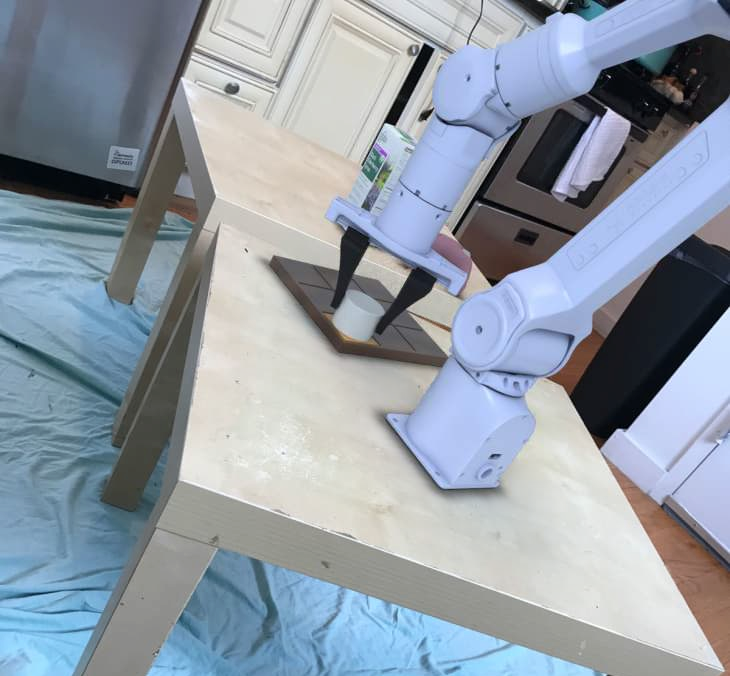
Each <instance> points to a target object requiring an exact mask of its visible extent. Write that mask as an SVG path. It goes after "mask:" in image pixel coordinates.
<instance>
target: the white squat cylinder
mask: <svg viewBox="0 0 730 676" xmlns="http://www.w3.org/2000/svg"><path fill="white" fill-rule="evenodd" d="M384 315H385V311H384V309H383V307H382V306H381V305H380V304H379V303H378V302H377V301H375V300H374V299H373V298H371V297H370V296H368V295H366V294H364V293H362V292H359V291H356V290H347V291H346V292H345V294H344V295H343V297H342V299H341V301H340V303H339V305H338V307H337V309H336V311H335V312H334V314H333V316H332V319H331V320H332V323H333V325H334V326H335V327H336V328H337V329H338V330H339V331H340V332H342V333H343V334H344V335H346V336H348V337H350V338H352V339H354V340H357V341H361V342H368V341H369V340H370V339H371V337H372V336H373V334H374V332H375V330H376V329H377V327H378V325H379V323H380V322H381V320H382V318H383V317H384Z"/></svg>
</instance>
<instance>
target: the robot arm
mask: <svg viewBox="0 0 730 676" xmlns="http://www.w3.org/2000/svg"><path fill="white" fill-rule="evenodd" d="M705 35H713V36H715V37H719V38H722V39H724V40H726V41H730V0H624V1H623V2H621V3H619V4H618V5H615V6H613V7H612V8H610V9H608V10H607V11H605V12H603V13H601V14H599V15H598V16H596V17H594V18H592V19H591V20H586V19H585V18H583V17H582V16H580V15H578V14H576V13H572V12H568V13H565V14H564V13H562V12H561V11H557V12H555V13H553V14H550V15H549V16H547V17H546V18H545V23H544V24H542V25H540V26H539V27H536V28H534V29H532V30H530V31H528V32H526V33H523V34H522V35H520V36H518V37H516V38H514V39H511V40H510V41H507V40H505V41H502V42H501V43H499V44H497V45H496V47H495V48H492V47H488V48H486V49H485V48H484V49H482V48H480V47H478V45H477V46H476V45H474V44H465V45H461V46H460V48H459V49H458V50H456V51H454V52H452V53H451V54H450V55H449V56H448V57H447V58H446V60H444V61H443V63H442V65H440V68H439V70H438V71H437V74H436V76H435V79H434V81H433V85H432V90H431V91H432V93H431V99H432V100H431V101H432V107H433V109H434V111H433V113H432V114H431V116H430V118H429V120H428V121H427V124H426V126H425V128H424V130H423V131H422V134H421V135H420V137H419V139H418V140H417V141H418V143H417V145H416V147H415V149H414V150H413V152H412V154H411V156H410V158H409V160H408V162H407V164H406V166H405V167H404V169H403V171H402V173H401V175H400V177H399V179H398V181H397V183H396V185H395V187H394V188H393V190H392V192H391V194H390V196H389V198H388V200H387V202H386V204H385V205H384V207H383V209H382V211H381V213H380V215H379V216H376V215H374V214H372V213H370V212H368V211H366V210H364V209H362V208H360V207H358V206H356V205H354V204H352V203H350V202H348V201H347V200H346V198H343V197H341V196H340V195H336V196H335V197H334V198H333V199H332V201H331V202H330V204H329V206H328V209H327V211H326V213H325V214H324V218H325V219H326V220H328V221H330V222H331V223H334V224H335V223H337V224H338V225H340V226H341V225H342V226H344V227H345V228H347V230H346V231H345V232H344V233H343V235H342V237H341V238H340V245H339V267H338V270H339V275H338V281H337V286H336V290H335V294H334V297H333V300H332V302H331V305H330V306H331V307H333V308H334V309H337V307H338V305H339V303H340V301H341V299H342V297H343V295H344V294H345V292H346V290H347V288H348V286H349V283H350V281H351V279H352V277H353V274H355V272H356V270H357V269H358V266H359V265H360V263H361V261H362V259H363V257H364V256H365V254H366V252H367V250H368V248H369V247H370V243H372V244H374V245H375V246H374V247H376V246H377V247H376V248H379V249H380V250H382V251H384V253H387V254H388V255H390V256H392V257H393V258H395V259H397V260H399V261H400V262H401V263H403V264H404V263H405V264H407V265H409V266H410V268H411V271H410V272H409V274H408V276H407V278H406V279H405V281H404V283H403V285H402V286H401V287H400V290H399V292H398V294H397V295H396V297H395V300H394V301H393V303H392V304H391V306H390V307H389V309H388V310H387V311H386V313H385V315H384V317H383V318H382V320H381V322H380V323H379V325H378V327H377V329H376V331H375V333H377V334H379V335H381V334H382V333H383V332H384V330H385V329H386V328H387V327H388V326H389V324H390V323H391V322H392V321H393V320H394V319H395V318H396V317H398V316H399V315H400V314H401V313H402V312H403V311H405V310H406V311H407V309H409V308H410V307H411V306H413V305H414V304H416V303H418V302H419V301H420V300H422V299H423V298H425V297H427V296H428V295H429V294H431V292H432V290H433V289H434V286H435V284H439V285H440V286H442V287H444V288H445V289H446V291H447V292H448V293H450V294H451V295H453V296H454V297H456V296H458V295H457V294H458V292H459V291H460V289H461V287H462V286H463V284H464V283H465V281H466V279H467V273H465V272H463V271H462V270H460V269H459V268H457V267H456V266H454V265H453V264H452V263H450V262H449V261H447V260H446V259H445V258H443V257H442V256H441V255H439V254H438V253H437V252H435V251H434V250H433V249H431V247H432V245H433V243H434V241H435V240H436V238H437V236H438V235H439V233H441V231H442V230H443V228H444V226H445V224H446V222H448V221H447V220H448V219H449V217H450V216H451V214H452V212H453V210H454V209H455V207H456V205H457V204H458V202H459V201H460V199H461V197H462V196H463V193H464V191H465V190H466V188H467V186H468V185H469V183H470V181H471V179H472V178H473V176H474V174H475V173H476V171H477V169H478V168H479V166H480V164H481V163H482V162H484V161H485V159H487V160H488V159H489V157H490V156H491V155H492V152H493V150H494V149H495V148H496V147H497V146H498V145H499V144H500V143H502V142H504V141H506V140H508V139H509V138H510V137H511V136H512V135H513V134H515V132H517V130H518V129H519V128H520V126H521V124H522V119H525V118H527V117H530V116H532V115H535V114H537V113H540V112H543V111H545V110H547V109H550V108H552V107H555V106H558V105H560V104H563V103H565V102H568V101H570V100H573V99H575V98H577V97H581V96H582V95H585V94H587V93H589V92H590V91H591V90H592V88H593V87H594V85H595V83H596V81H597V79H598V77H599V75H600V74H601V72H602V70H605V69H608V68H612V67H613V66H616V65H619V64H622V63H625V62H628V61H630V60H635V59H637V58H640V57H643V56H646V55H649V54H652V53H655V52H658V51H660V50H663V49H666V48H669V47H673V46H675V45H678V44H681V43H684V42H688V41H691V40H693V39H696V38H699V37H701V36H705ZM729 206H730V94H729V96H728V97H727V99H726V100H725V101H723V103H722V104H721V105H720V106H718V108H716V109H715V110H714V111H712V113H711V114H709V116H707V117H706V118H705V119H704V120H703V121H701V123H700V124H698V125H697V126H696V127H695V128H694V129H693V130H692V131H690V133H688V134H687V135H686V136H685V137H684V138H683V139H682V140H680V141H679V142H678V143H677V144H676V145H675V146H674V147H673V148H671V149H670V150H669V151H668V152H667V153H666V154H665V155H663V156H662V157H661V158H660V159H659V160H658V161H657V162H656V163H654V164H653V165H652V166H651V167H650V168H649V169H648V170H647V171H645V172H644V173H643V174H642V175H641V176H640V177H639V178H638V179H637V180H635V182H633V183H632V184H631V185H629V187H628V188H627V189H626V190H625V191H623V192H622V193H621V194H620V195H619V196H618V197H617V198H615V199H614V200H613V201H612V202H611V203H610V204H609V205H608V206H607V207H605V208H604V209H603V210H602V211H600V213H598V215H596V216H595V217H594V218H593V219H592V220H591V221H590V222H589V223H587V224H586V225H585V226H584V227H583V228H582V229H581V230H580V231H578V233H576V234H575V235H574V236H573V237H572V238H571V239H569V241H567V242H566V243H565V244H564V245H563V246H562V247H560V248H559V249H558V250H557V251H556V252H555V253H553V255H552V256H550V257H549V259H547V260H546V261H544V262H542V263H540V264H536V265H533V266H531V267H528V268H527V267H526V268H524V269H520V270H518V271H515V272H512V273H509V274H507V275H506V276H505V277H504V278H503V279H501V280H500V281H499V282H498V283H496V284H495V285H494V286H492V287H490V288H488V289H482V290H479V291H476V292H474V293H472V294H470V295H469V296H468V297H466V299H464V300H463V302H462V303H461V304H460V305H459V307H458V308H457V310H456V312H455V315H454V317H453V319H452V323H451V329H450V343H451V346H450V348H449V349H448V352H449V353H450V355H448V359H447V361H446V362H445V364H444V365H443V367H442V366H441V368H440V370H439V371H438V373H437V374H436V376H435V378H433V380H432V382H431V384H430V385H429V386H428V388H427V390H426V391H425V393H424V394H423V396H422V397H421V399H420V400H419V402H418V403H417V405H416V407H415V408H414V409H413V411H412V412H411V414H407V413H405V414H404V413H391V412H390V413H387V414H386V415H385V419H386V420H387V422H388V423H389V425H391V427H392V428H393V429H394V431H395V432H396V433H397V435H398V436H399V437H400V439H402V441H403V443H404V444H406V446H407V447H408V449H409V450H410V451H411V452H412V454H413V455H414V456H415V457H416V459H417V460H418V461H419V463H420V464H421V465H422V466H423V468H424V470H426V472H427V473H428V474H429V475H430V477H431V478H432V480H434V482H435V483H436V484H437V485H438V487H439V488H441V489H444V490H449V489H450V490H451V489H452V490H455V489H456V490H457V489H487V488H490V489H491V488H498V487H499V485H500V482H499V479H500V478H501V476H502V475H503V474H504V473H505V471H506V470H507V469H508V468H509V466H510V465H511V464H512V462H513V461H514V460H515V458H516V457H517V456H518V455H519V453H520V452H521V451H522V450H523V448H524V447H525V446H526V445H527V443H528V441H529V440H530V439H531V437H532V436H533V433H534V431H535V429H536V425H537V421H536V417H535V416H534V414H533V413H532V412H531V410H530V409H529V407H528V404H527V402H526V394H527V392H528V391H529V390H530V389H532V387H533V386H534V385H535V384H536V382H537V381H538V379H544V378H548V377H552V376H553V375H555V374H557V373H558V372H559V371H562V369H563V368H564V367H565V365H566V364H567V363H568V361H569V360H570V358H571V356H572V354H573V352H574V350H575V349H576V348H577V346H579V344H580V343H581V342H582V341H583V340H584V339H586V338H587V337H588V336H589V335H591V334H592V331H593V315H594V313H595V312H596V311H597V310H599V309H600V308H601V307H602V306H603V305H605V304H607V303H608V302H609V301H610V300H611V299H613V298H614V297H615V296H616V295H618V294H619V293H620V292H621V291H622V290H624V289H625V288H626V287H628V286H629V285H631V284H632V283H633V282H634V281H635V280H636V279H638V278H639V277H640V276H642V275H643V274H644V273H645V272H647V271H648V270H649V269H651V268H652V267H653V266H654V265H656V264H657V263H658V262H659V261H661V260H662V259H663V258H664V257H666V256H667V255H668V254H669V253H671V252H672V251H673V250H674V249H676V248H677V247H678V246H680V245H681V244H682V243H684V241H686V240H687V239H688V238H690V237H691V236H692V235H694V234H695V233H696V232H697V231H698V230H700V229H701V228H702V227H703V226H705V225H706V224H707V223H708V222H710V221H711V220H713V219H714V218H715V217H716V216H717V215H719V214H720V213H721V212H723V211H724V210H725V209H727V207H729ZM342 226H341V227H342ZM405 264H404V265H405Z"/></svg>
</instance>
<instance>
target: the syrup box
mask: <svg viewBox="0 0 730 676" xmlns="http://www.w3.org/2000/svg"><path fill="white" fill-rule="evenodd" d="M418 141H419V140H417V139H416V138H415V137H414V136H412V135H411V134H410V133H408V132H407V131H405V130H403V129H401V128H399V127H398V126H395V125H392V124H389V123H387V122H386V123H384V124H383V126H382V128H381V130H380V132H379V134H378V136H377V138H376V139H375V142H374V144H373V145H372V148H371V150H370V152H369V154H368V156H367V157H366V159H365V161H364V164H363V165H362V167H361V169H360V170H359V173H358V175H357V177H356V178H355V181H354V183H353V185H352V187H351V189H350V190H349V192H348V195H346V198H345V200H347V201H348V202H350V203H352V204H354V205H356V206H358V207H360V208H362V209H364V210H366V211H368V212H370V213H372V214H374V215H376V216H379V215H380V213H381V211H382V209H383V207H384V205H385V204H386V202H387V200H388V198H389V196H390V194H391V192H392V190H393V188H394V187H395V185H396V183H397V181H398V179H399V177H400V175H401V173H402V171H403V169H404V167H405V166H406V164H407V162H408V160H409V158H410V156H411V154H412V152H413V150H414V149H415V147H416V145H417V143H418ZM340 226H341V227H342V228H343V230H344V231H345V232H346V230H347V228H345V227H344V226H342V225H340ZM370 245H371V246H373V247H376V248H378V247H377V246H375V245H374V244H372V243H370ZM370 245H369V246H370Z"/></svg>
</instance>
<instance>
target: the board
mask: <svg viewBox="0 0 730 676" xmlns="http://www.w3.org/2000/svg"><path fill="white" fill-rule="evenodd" d="M269 266H270V268H272V270H273V271H274V272H275V274H276V275H277V276H278V277H279V278H280V280H281V281H282V282H283V284H284V285H285V286H286V287H287V289H288V290H289V291H290V293H291V294H292V295H293V296H294V297H295V299H296V301H298V303H299V304H300V305H301V307H302V308H303V309H304V311H305V312H306V313H307V314H308V315H309V317H310V318H311V319H312V320H313V322H314V323H315V324H316V325H317V327H318V328H319V329H320V331H321V332H322V333H323V334H324V336H325V337H326V338H327V339H328V341H329V342H330V343H331V345H332V346H333V347H334V349H335V350H336V351H337V352H338V353H342V354H349V355H356V356H364V357H370V358H378V359H384V360H385V359H386V360H392V361H399V362H400V361H401V362H405V363H406V362H407V363H414V364H422V365H428V366H435V367H441V368H442V367H443V365H444V364H445V362H446V361H447V359H448V357H449V355H447V353H446V352H445V351H444V350H443V349H442V348H441V346H440V345H439V344H438V343H437V342H436V341H435V340H434V339H433V338H432V337H431V336H430V335H429V333H428V332H427V331H426V330H425V329H424V328H423V327H422V326H421V325H420V324H419V322H418V321H417V320H416V319H415V318H414V317H413V316H412V315H411V314H410V312H409V311H408V310H407V309H406V310H405V311H403V312H402V313H401V314H400V315H399V316H398V317H396V318H395V319H394V320H393V321H392V322H391V323H390V324H389V326H388V327H387V328H386V329H385V330H384V332H383V333H382V334H381V335H379V334H377V333H375V332H374V334H373V336H372V337H371V339H370V340H369V341H368V342H361V341H357V340H354V339H352V338H350V337H348V336H346V335H344V334H343V333H342V332H340V331H339V330H338V329H337V328H336V327H335V326H334V325H333V323H332V320H331V319H332V316H333V314H334V312H335V311H336V309H334V308H333V307H331V306H330V305H331V302H332V300H333V297H334V294H335V290H336V286H337V281H338V275H339V269H334V268H330V267H325V266H322V265H317V264H314V263H309V262H305V261H301V260H296V259H291V258H288V257H284V256H280V255H275V254H273V255H272V257H271V259H270V261H269ZM347 290H356V291H359V292H362V293H364V294H366V295H368V296H370V297H371V298H373V299H374V300H375V301H377V302H378V303H379V304H380V305H381V306H382V307H383V309H384V311H385V313H386V311H387V310H388V309H389V307H390V306H391V304H392V303H393V301H394V300H395V298H396V297H395V296H394V295H393V294H392V293H391V292H390V290H388V289H387V287H386V286H385V285H384V284H383V283H382V281H380V280H379V279H376V278H372V277H368V276H363V275H360V274H355V273H354V274H353V277H352V279H351V281H350V283H349V286H348V288H347ZM347 290H346V291H347ZM375 331H376V330H375Z"/></svg>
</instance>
